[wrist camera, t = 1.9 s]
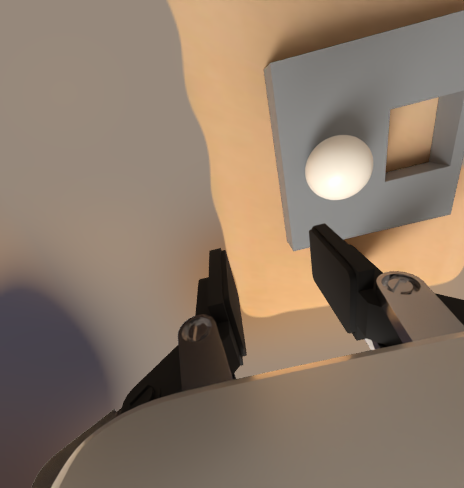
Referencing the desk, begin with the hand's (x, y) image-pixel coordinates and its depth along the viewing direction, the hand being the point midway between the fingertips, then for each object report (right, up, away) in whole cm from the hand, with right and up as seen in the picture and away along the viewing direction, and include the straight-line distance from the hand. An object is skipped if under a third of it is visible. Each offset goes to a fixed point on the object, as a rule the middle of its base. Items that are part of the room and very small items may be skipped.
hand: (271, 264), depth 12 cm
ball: (+8, +8, +11) cm, 16 cm away
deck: (+13, +12, +16) cm, 24 cm away
